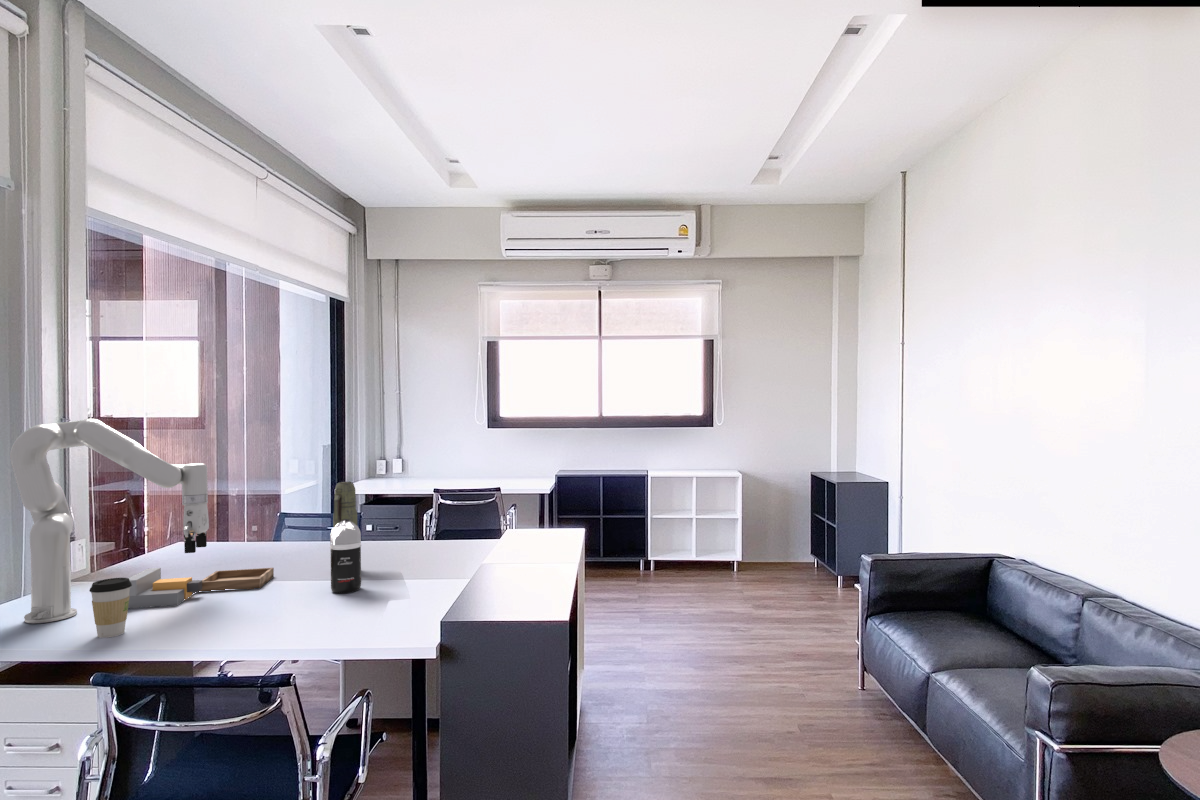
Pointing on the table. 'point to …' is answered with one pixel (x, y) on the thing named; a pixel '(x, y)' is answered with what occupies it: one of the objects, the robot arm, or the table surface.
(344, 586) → the spray bottle
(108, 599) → the coffee cup
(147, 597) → the dock
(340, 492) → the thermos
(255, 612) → the table surface
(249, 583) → the tray
